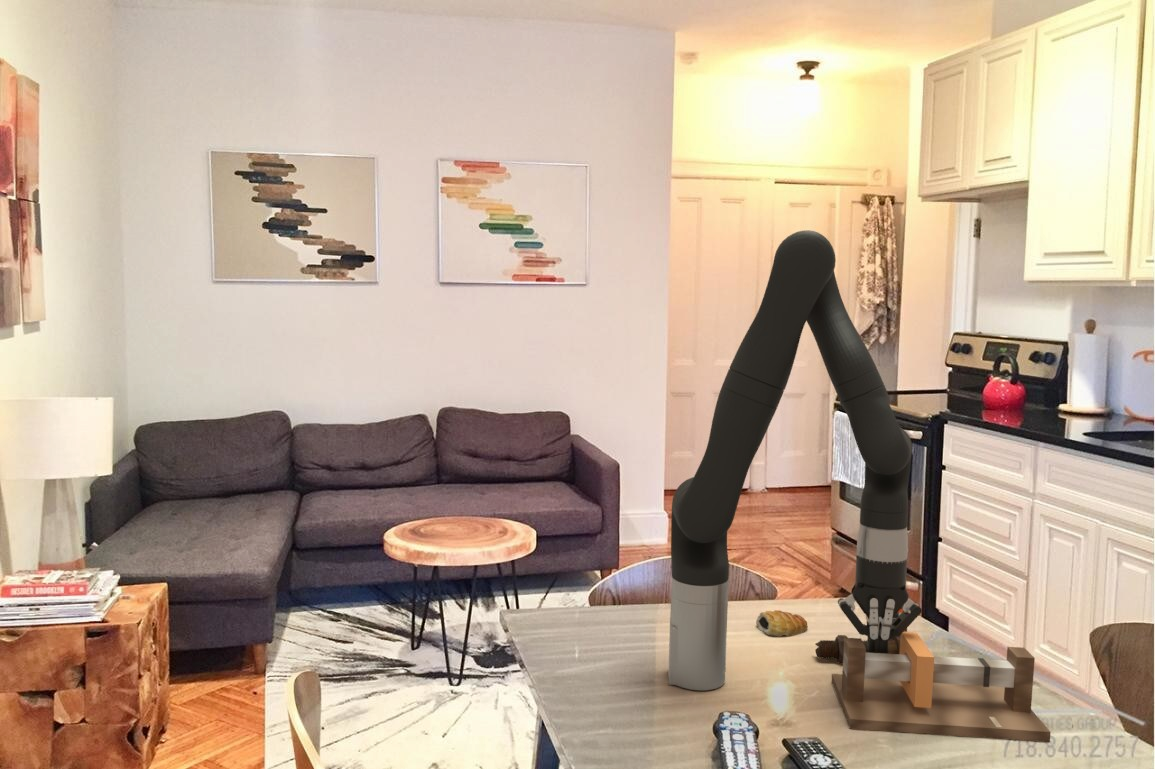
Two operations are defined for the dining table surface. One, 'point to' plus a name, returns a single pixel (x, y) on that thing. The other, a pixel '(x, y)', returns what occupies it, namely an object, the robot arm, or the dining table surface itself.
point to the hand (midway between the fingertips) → (876, 660)
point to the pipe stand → (940, 695)
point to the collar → (918, 669)
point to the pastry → (781, 623)
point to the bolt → (836, 647)
